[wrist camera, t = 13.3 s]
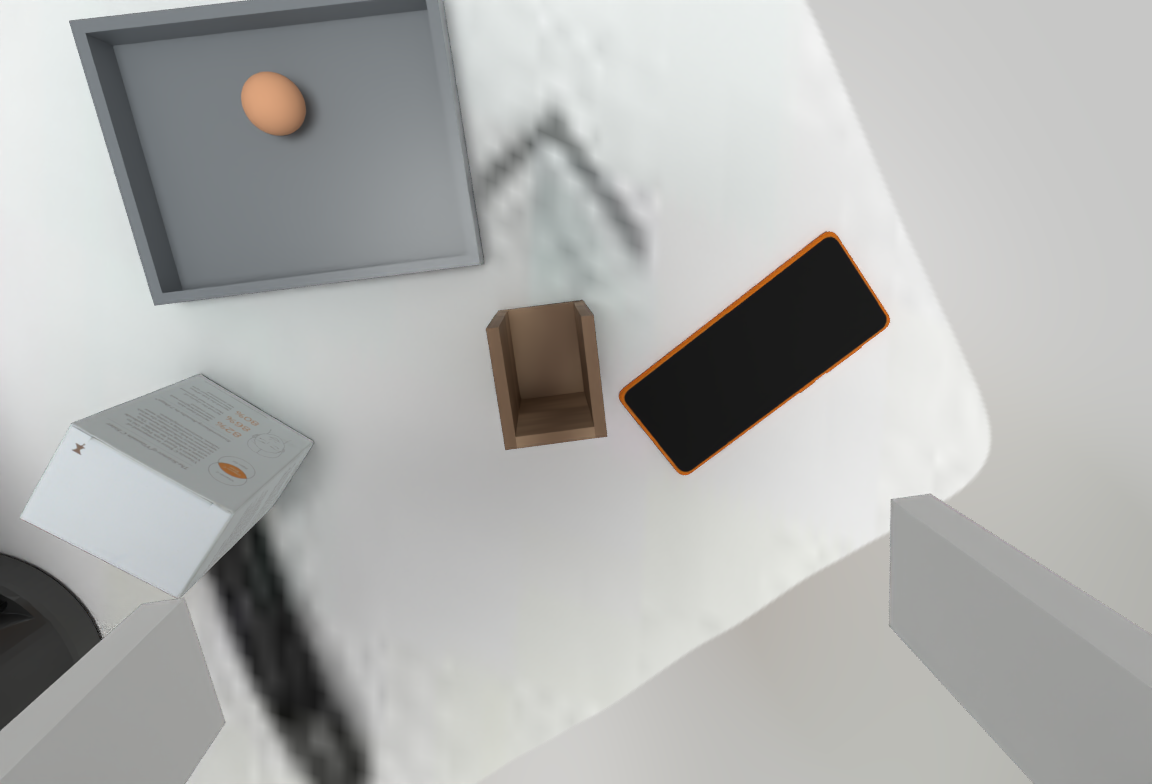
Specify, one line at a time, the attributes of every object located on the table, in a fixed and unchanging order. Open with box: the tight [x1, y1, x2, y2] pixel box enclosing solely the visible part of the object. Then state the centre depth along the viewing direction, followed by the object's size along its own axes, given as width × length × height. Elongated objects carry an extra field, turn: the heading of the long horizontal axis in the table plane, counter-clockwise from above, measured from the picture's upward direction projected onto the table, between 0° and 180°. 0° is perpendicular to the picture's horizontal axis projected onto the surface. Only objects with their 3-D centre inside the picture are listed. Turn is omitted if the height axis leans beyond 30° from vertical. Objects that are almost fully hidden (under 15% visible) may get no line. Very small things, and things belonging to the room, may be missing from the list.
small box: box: [20, 374, 314, 598], centre depth 32 cm, size 8×6×10 cm
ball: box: [241, 72, 306, 136], centre depth 30 cm, size 3×3×3 cm
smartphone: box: [619, 232, 890, 475], centre depth 37 cm, size 8×17×1 cm, turn 128°
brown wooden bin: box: [486, 300, 607, 450], centre depth 33 cm, size 5×6×8 cm
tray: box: [69, 0, 484, 305], centre depth 32 cm, size 18×14×2 cm
